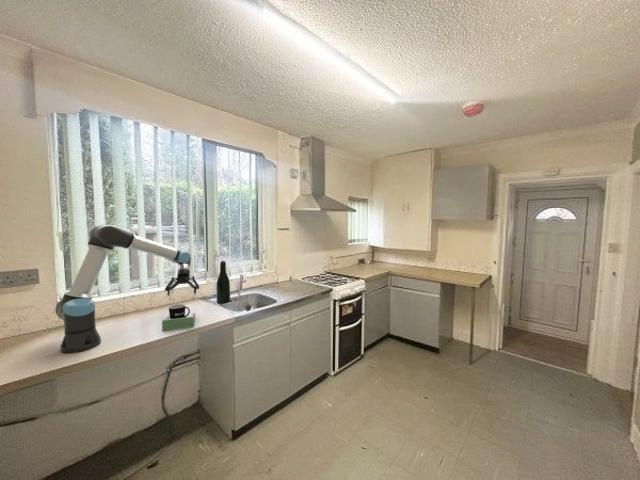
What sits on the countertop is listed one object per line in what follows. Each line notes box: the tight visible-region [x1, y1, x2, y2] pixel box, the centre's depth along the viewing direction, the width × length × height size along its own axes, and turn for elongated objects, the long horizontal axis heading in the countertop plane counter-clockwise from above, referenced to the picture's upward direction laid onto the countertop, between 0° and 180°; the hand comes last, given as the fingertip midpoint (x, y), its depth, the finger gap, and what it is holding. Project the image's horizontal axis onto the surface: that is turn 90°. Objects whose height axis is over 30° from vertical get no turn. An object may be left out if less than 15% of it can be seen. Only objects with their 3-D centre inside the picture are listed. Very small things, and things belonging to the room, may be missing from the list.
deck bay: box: [161, 313, 196, 332], centre depth 162 cm, size 16×16×6 cm
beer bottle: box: [215, 260, 231, 304], centre depth 209 cm, size 10×10×33 cm
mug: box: [168, 303, 191, 319], centre depth 163 cm, size 12×9×10 cm
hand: (181, 298), depth 169 cm, fingers open, 13 cm apart
